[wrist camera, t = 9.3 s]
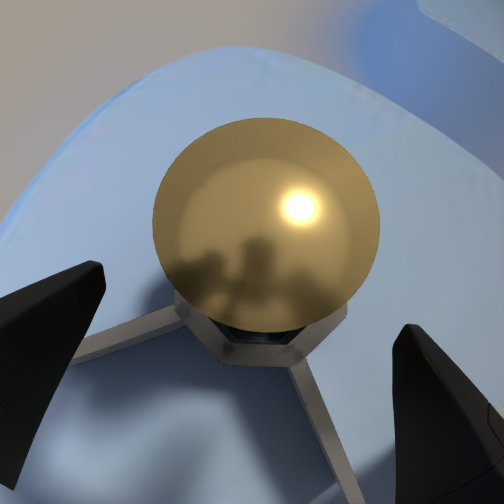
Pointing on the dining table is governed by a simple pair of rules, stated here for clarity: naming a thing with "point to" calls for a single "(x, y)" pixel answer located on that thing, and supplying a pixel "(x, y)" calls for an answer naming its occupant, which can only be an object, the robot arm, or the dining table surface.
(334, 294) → the hinge pin
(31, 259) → the dining table surface
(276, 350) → the grey ring with arms
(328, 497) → the dining table surface
